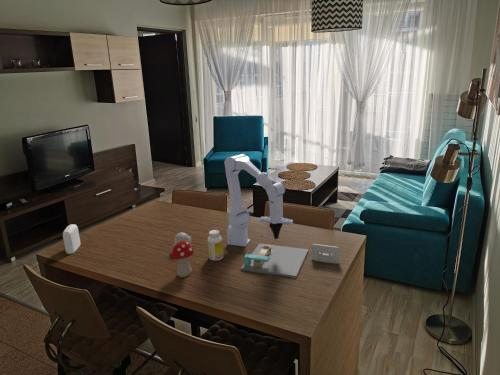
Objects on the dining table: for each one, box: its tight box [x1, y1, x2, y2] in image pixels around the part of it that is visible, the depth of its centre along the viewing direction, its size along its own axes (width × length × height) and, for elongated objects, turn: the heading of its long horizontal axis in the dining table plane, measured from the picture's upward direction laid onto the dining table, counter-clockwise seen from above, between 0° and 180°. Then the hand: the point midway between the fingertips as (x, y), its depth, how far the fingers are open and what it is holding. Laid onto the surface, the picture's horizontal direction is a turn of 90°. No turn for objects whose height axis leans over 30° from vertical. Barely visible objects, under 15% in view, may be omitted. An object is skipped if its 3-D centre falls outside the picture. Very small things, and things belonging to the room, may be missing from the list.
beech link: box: [253, 244, 271, 267], centre depth 173 cm, size 17×4×3 cm, turn 162°
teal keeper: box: [243, 253, 270, 265], centre depth 167 cm, size 10×3×5 cm, turn 70°
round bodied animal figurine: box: [172, 231, 193, 249], centre depth 188 cm, size 7×12×8 cm, turn 154°
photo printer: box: [62, 224, 82, 255], centre depth 190 cm, size 10×4×12 cm, turn 2°
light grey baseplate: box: [240, 243, 309, 279], centre depth 173 cm, size 24×25×1 cm
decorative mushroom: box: [170, 241, 195, 278], centre depth 162 cm, size 10×9×15 cm
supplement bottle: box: [207, 229, 224, 262], centre depth 176 cm, size 7×7×13 cm
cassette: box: [311, 243, 341, 265], centre depth 170 cm, size 12×2×8 cm, turn 69°
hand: (276, 238), depth 174 cm, fingers closed
